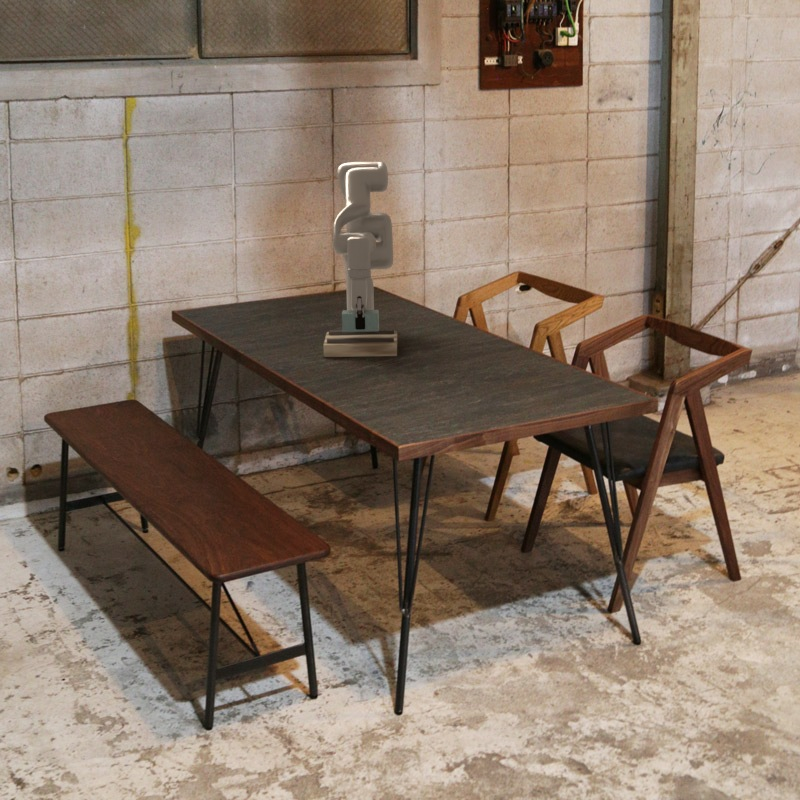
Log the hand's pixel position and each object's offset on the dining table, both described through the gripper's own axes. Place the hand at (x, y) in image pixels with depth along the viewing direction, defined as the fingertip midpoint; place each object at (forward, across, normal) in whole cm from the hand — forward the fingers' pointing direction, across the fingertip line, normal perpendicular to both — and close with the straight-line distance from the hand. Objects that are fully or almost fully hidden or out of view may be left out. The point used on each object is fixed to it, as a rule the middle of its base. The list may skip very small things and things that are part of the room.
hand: (360, 326), depth 429 cm
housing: (+1, 0, 0) cm, 1 cm away
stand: (+8, 0, 0) cm, 8 cm away
